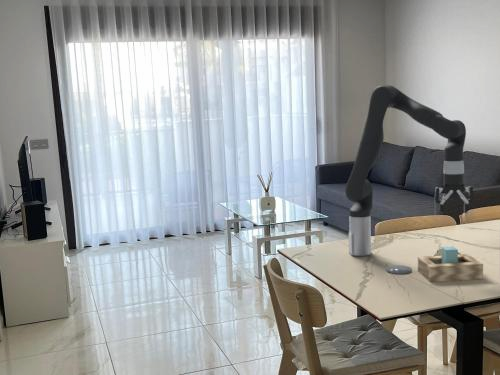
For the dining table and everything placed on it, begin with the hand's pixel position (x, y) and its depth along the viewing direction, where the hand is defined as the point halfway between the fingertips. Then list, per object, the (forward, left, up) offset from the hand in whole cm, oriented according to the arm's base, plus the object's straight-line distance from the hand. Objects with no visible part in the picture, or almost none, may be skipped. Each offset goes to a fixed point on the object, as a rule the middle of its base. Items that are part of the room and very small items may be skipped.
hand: (453, 213), depth 230 cm
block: (-5, -8, -20) cm, 22 cm away
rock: (+2, +12, -23) cm, 26 cm away
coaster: (-22, +1, -22) cm, 31 cm away
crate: (-5, -8, -22) cm, 24 cm away
